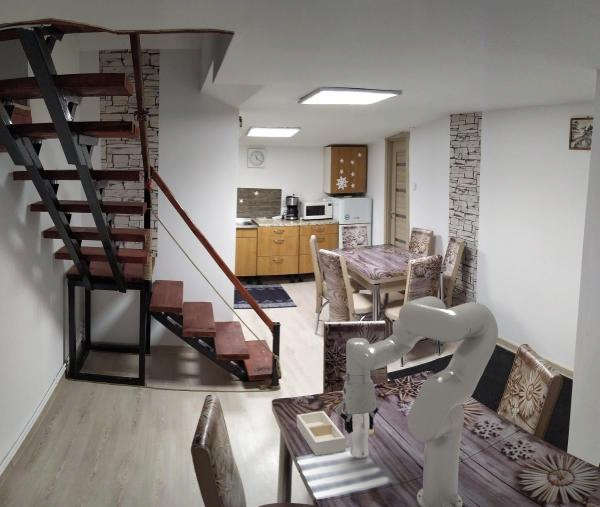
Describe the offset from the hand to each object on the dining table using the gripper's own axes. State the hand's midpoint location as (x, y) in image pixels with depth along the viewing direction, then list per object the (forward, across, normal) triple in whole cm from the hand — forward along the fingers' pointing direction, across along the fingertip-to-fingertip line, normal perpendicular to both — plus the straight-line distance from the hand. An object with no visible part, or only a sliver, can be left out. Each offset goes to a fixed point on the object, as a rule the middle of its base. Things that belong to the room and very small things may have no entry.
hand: (359, 429), depth 175 cm
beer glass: (+9, 0, 0) cm, 9 cm away
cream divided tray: (+10, -8, +17) cm, 21 cm away
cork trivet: (+10, +8, +18) cm, 22 cm away
